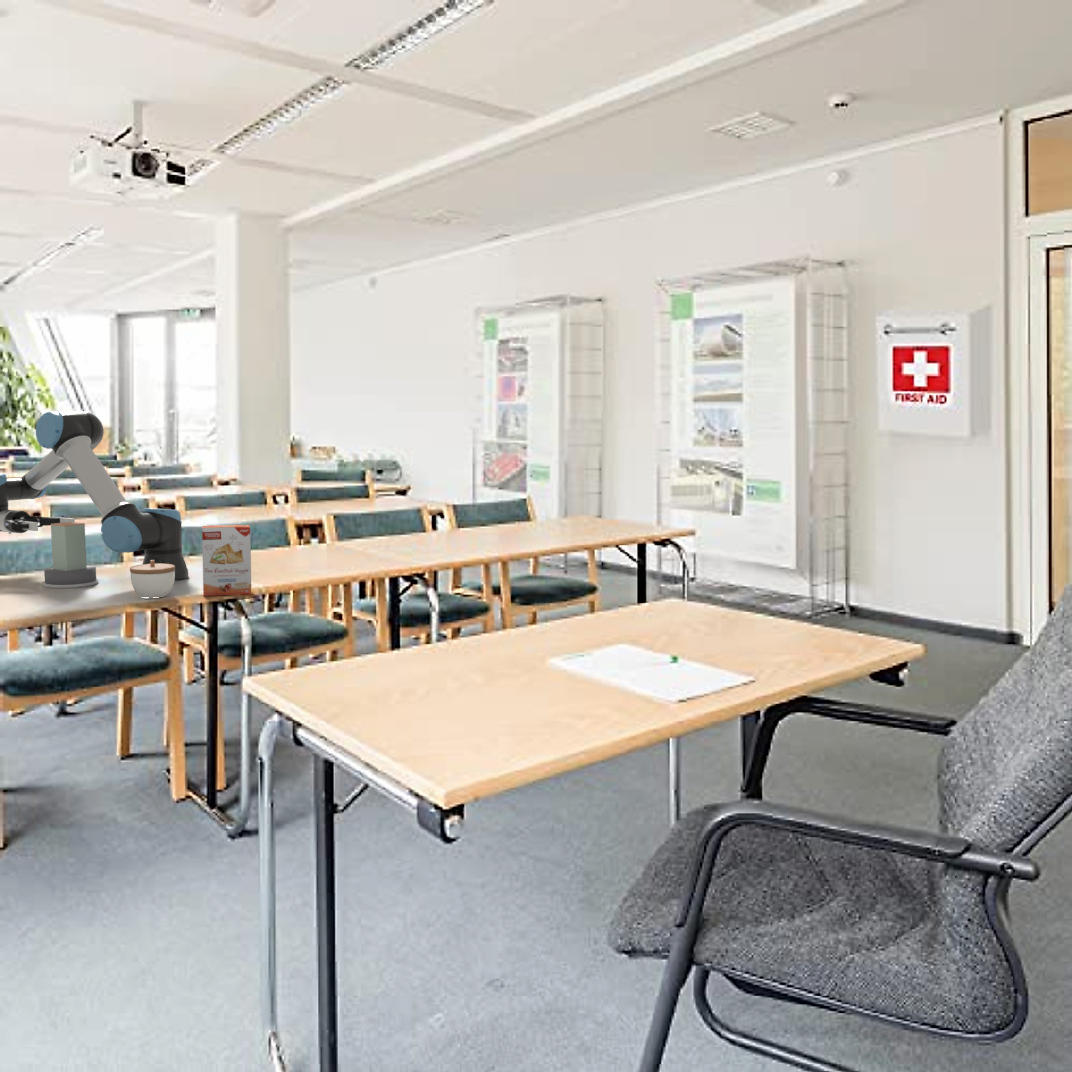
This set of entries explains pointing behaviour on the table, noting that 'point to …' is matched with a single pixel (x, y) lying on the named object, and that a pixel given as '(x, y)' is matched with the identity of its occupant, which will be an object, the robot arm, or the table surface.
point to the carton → (68, 546)
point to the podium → (70, 578)
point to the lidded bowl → (152, 579)
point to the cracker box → (226, 560)
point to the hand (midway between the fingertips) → (55, 524)
